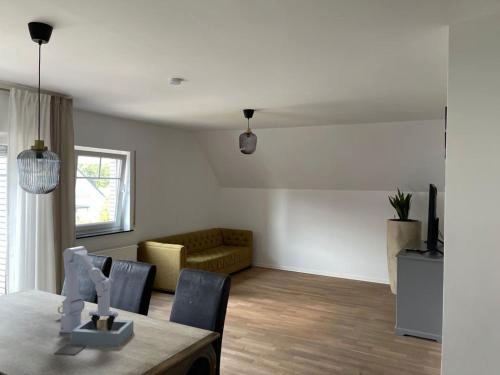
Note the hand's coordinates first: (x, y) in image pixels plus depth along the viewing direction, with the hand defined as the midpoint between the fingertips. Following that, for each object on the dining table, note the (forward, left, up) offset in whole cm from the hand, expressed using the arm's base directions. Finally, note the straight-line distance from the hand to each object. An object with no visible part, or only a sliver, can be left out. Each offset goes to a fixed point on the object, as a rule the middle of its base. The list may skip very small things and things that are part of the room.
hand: (103, 330), depth 194 cm
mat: (-8, -16, -4) cm, 18 cm away
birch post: (0, 0, -2) cm, 2 cm away
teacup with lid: (-35, +27, -4) cm, 44 cm away
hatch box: (0, 0, -4) cm, 4 cm away
